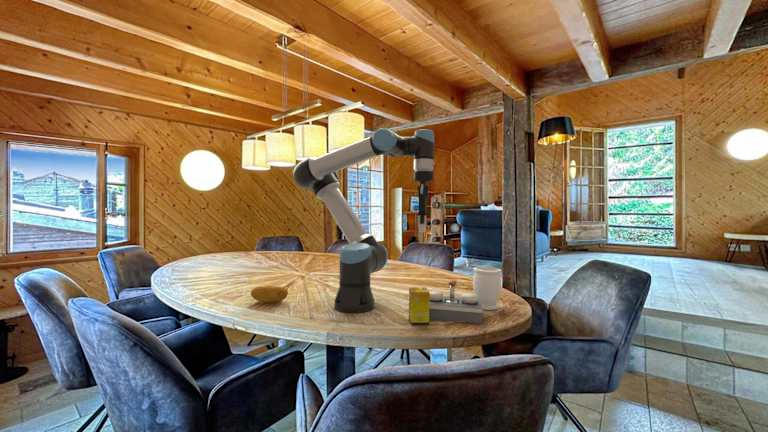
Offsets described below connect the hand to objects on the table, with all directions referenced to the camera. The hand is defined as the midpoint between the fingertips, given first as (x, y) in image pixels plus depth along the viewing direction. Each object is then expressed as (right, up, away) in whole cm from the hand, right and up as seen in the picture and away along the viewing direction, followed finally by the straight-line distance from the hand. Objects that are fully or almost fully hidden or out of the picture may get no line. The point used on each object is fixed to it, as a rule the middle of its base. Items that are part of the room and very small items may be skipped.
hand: (422, 232), depth 128 cm
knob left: (+3, -28, -9) cm, 30 cm away
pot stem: (+9, -29, -10) cm, 32 cm away
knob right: (+15, -29, -11) cm, 34 cm away
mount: (+9, -29, -10) cm, 32 cm away
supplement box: (-3, -29, -18) cm, 34 cm away
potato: (-59, -28, 0) cm, 65 cm away
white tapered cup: (+25, -29, 0) cm, 38 cm away
